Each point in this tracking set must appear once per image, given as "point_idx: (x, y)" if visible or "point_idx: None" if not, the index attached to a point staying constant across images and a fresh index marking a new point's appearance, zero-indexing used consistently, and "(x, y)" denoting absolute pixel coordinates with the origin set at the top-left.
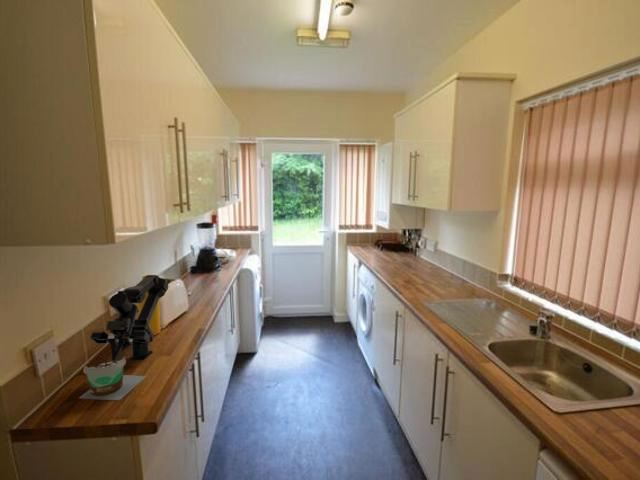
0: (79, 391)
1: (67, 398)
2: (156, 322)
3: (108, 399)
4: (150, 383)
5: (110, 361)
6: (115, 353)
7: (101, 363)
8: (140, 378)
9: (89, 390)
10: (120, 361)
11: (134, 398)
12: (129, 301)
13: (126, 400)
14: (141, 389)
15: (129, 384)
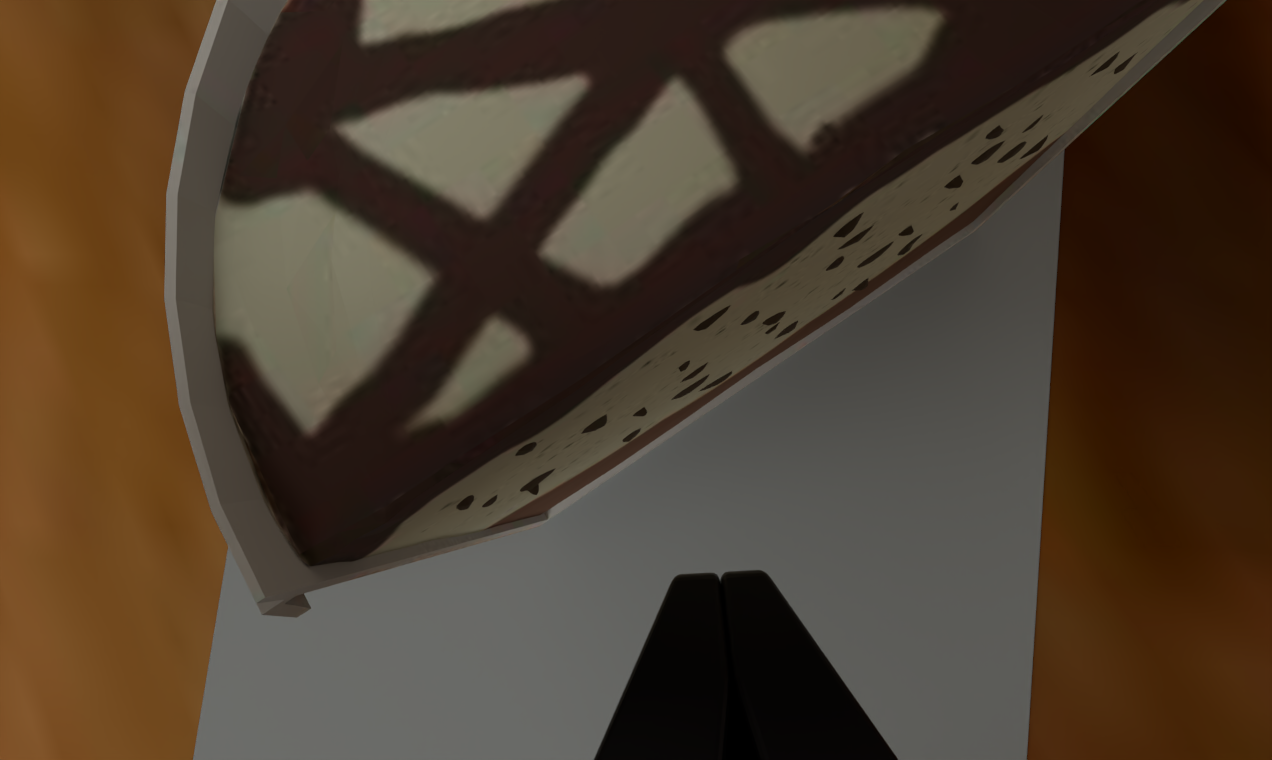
0: (1219, 286)
1: (1268, 68)
2: None
3: None
4: (14, 548)
5: (662, 282)
6: (693, 747)
7: (907, 105)
8: (270, 729)
9: (1038, 293)
10: (185, 144)
11: (106, 68)
12: None
13: (211, 13)
14: (100, 340)
15: None
